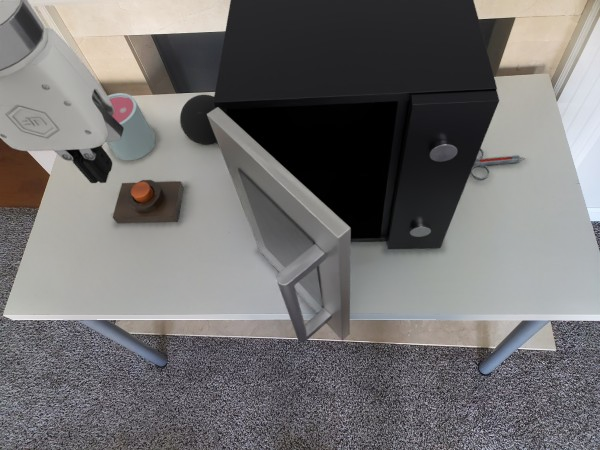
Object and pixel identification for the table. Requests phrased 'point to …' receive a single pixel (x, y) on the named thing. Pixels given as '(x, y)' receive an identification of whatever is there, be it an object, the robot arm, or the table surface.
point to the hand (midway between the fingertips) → (102, 172)
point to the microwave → (364, 105)
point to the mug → (131, 129)
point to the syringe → (494, 162)
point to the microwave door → (290, 231)
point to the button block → (150, 203)
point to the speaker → (198, 119)
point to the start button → (142, 192)
